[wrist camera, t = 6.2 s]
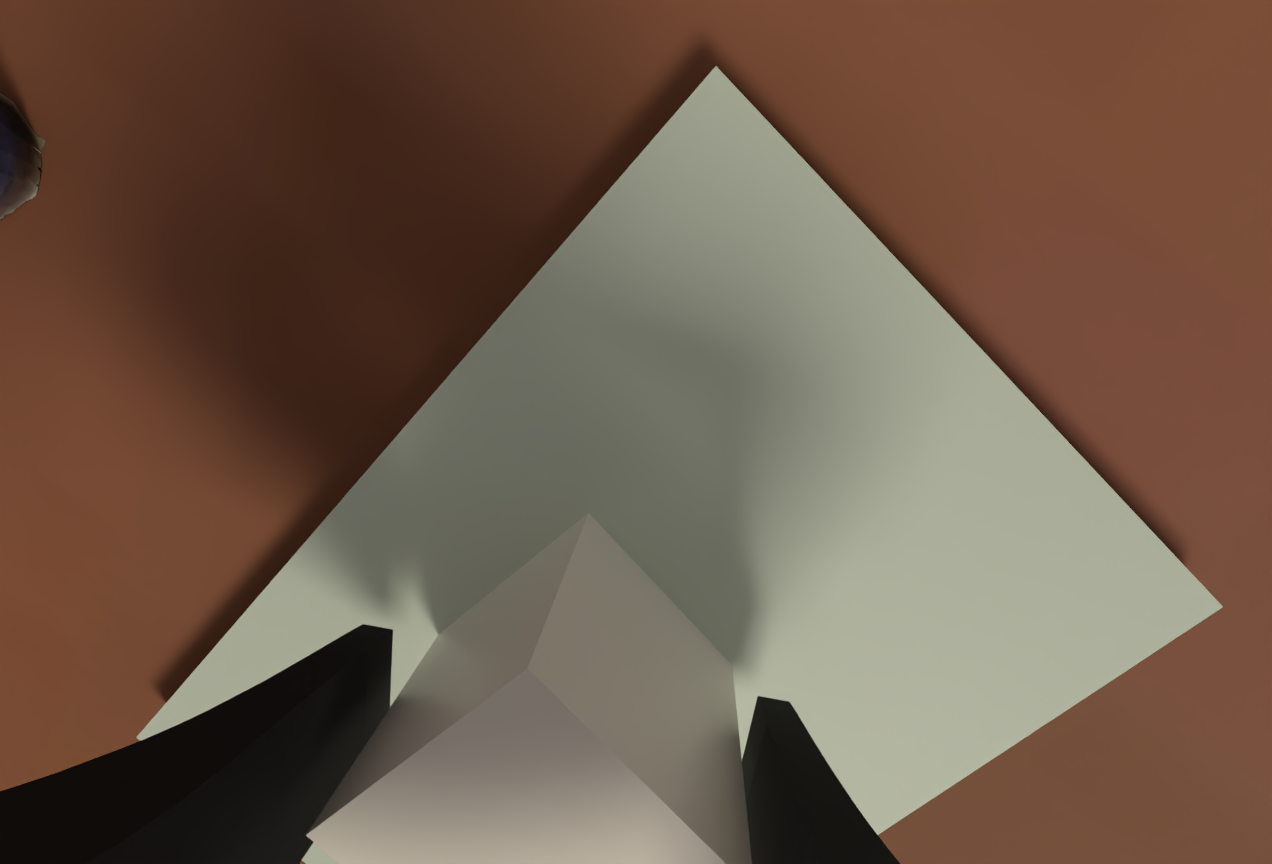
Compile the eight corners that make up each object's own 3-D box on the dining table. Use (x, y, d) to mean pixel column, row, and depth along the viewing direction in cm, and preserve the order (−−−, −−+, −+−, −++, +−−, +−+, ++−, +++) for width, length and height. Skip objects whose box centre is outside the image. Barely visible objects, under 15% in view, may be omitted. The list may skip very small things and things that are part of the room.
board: (713, 81, 11) (725, -6, 8) (1184, 581, 13) (1386, 716, 9) (168, 709, 16) (10, 848, 13) (562, 1006, 18) (527, 1206, 14)
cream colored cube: (588, 512, 13) (527, 667, 8) (732, 665, 13) (754, 891, 9) (438, 634, 14) (306, 834, 9) (578, 769, 15) (523, 1020, 10)
